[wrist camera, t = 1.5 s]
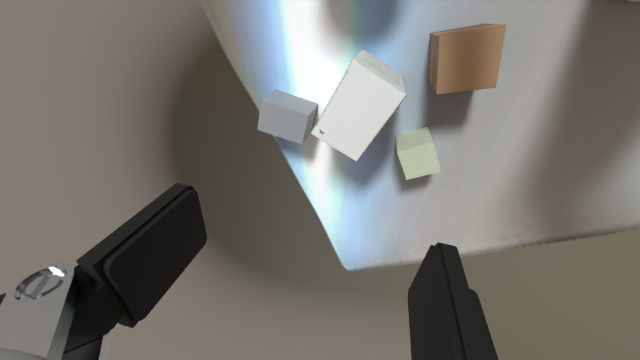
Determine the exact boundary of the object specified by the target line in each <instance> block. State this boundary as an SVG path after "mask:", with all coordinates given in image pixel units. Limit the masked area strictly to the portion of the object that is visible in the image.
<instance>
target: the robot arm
mask: <svg viewBox="0 0 640 360" xmlns="http://www.w3.org/2000/svg"><path fill="white" fill-rule="evenodd" d="M627 1H632V2H640V0H627ZM206 240H207V234H206V229H205V225H204V220H203V216H202V212H201V207H200V203H199V198H198V194H197V192H196V191H195V189H194V188H193V187H192V186H189V185H185V184H180V183H177V184H175V185H173V186H172V187H171V188H169V189H168V190H167V191H165V192H164V193H163V194H162V195H160V196H159V197H158V198H156V199H155V200H154V201H153V202H151V203H150V204H149V205H148V206H146V207H145V208H144V209H142V210H141V211H140V212H138V213H137V214H136V215H135V216H133V217H132V218H131V219H129V220H128V221H127V222H125V223H124V224H123V225H122V226H120V227H119V228H118V229H116V230H115V231H114V232H113V233H111V234H110V235H109V236H107V237H106V238H105V239H104V240H102V241H101V242H100V243H98V244H97V245H96V246H95V247H93V248H92V249H91V250H89V251H88V252H87V253H86V254H84V255H83V256H82V257H80V258H79V259H78V260H77V263H78V264H79V265H78V266H76V267H75V268H73V267H72V265H70V264H68V263H61V262H58V263H52V264H48V265H45V266H41V267H39V268H37V269H35V270H32V271H30V272H29V273H27V274H26V275H24V276H22V277H21V278H20V279H19V280H18V281H16V282H15V283H14V284H13V285H12V286H11V288H10V289H9V290H8V292H7V293H5V294H2V295H0V360H107V357H108V351H109V344H110V339H111V333H112V329H113V328H114V326H115V325H116V324H117V323H118V322H119V324H122V325H124V326H128V327H131V328H133V327H134V326H135V325H136V324H137V323H138V321H139V320H143V319H144V318H145V317H146V316H147V315H148V314H149V312H150V311H151V310H152V309H153V308H154V306H155V305H156V304H157V303H158V301H159V300H160V299H161V298H162V297H163V295H164V294H165V293H166V292H167V290H168V289H169V288H170V287H171V286H172V284H173V283H174V282H175V280H176V279H177V278H178V277H179V276H180V274H181V273H182V272H183V271H184V270H185V268H186V267H187V266H188V265H189V263H190V262H191V261H192V260H193V259H194V257H195V256H196V255H197V254H198V252H199V251H200V250H201V249H202V248H203V246H204V245H205V243H206ZM408 309H409V325H410V340H411V356H412V360H498V357H497V354H496V351H495V348H494V345H493V341H492V338H491V335H490V332H489V329H488V326H487V323H486V320H485V316H484V313H483V310H482V307H481V304H480V300H479V298H478V295H477V293H476V292H475V291H474V290H472V289H469V287H468V283H467V280H466V277H465V273H464V270H463V266H462V263H461V259H460V256H459V252H458V249H457V247H456V246H452V245H448V244H443V243H437V244H436V245H435V246H433V245H431V246H430V248H429V250H428V252H427V254H426V256H425V258H424V260H423V262H422V264H421V266H420V268H419V270H418V272H417V274H416V276H415V278H414V280H413V282H412V284H411V286H410V288H409V291H408Z"/></svg>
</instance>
